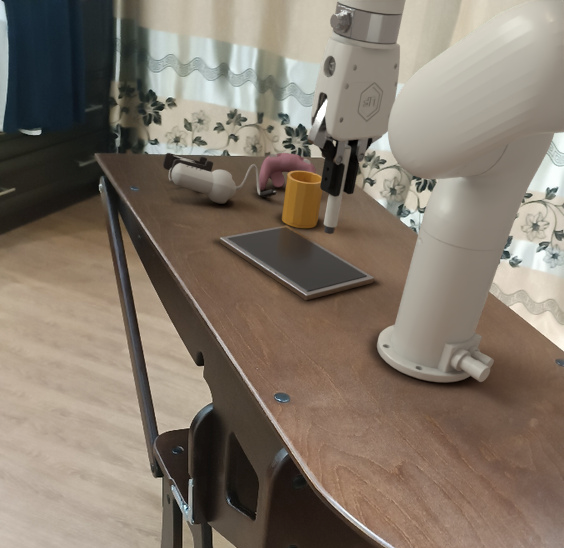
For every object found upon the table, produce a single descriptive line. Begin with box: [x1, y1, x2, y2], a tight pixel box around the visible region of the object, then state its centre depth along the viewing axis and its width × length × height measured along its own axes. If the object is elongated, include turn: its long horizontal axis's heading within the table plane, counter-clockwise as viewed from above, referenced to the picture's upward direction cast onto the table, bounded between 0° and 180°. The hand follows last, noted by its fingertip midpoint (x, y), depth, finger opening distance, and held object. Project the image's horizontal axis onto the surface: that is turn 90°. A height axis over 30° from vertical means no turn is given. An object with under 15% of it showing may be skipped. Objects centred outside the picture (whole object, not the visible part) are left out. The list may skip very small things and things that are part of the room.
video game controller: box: [258, 152, 317, 192], centre depth 125 cm, size 10×5×7 cm, turn 84°
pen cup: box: [281, 171, 324, 229], centre depth 114 cm, size 6×6×7 cm
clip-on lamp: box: [162, 152, 278, 205], centre depth 119 cm, size 12×6×18 cm
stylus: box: [323, 144, 351, 235], centre depth 93 cm, size 2×2×11 cm
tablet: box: [219, 224, 375, 301], centre depth 104 cm, size 20×13×1 cm, turn 39°
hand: (336, 190), depth 93 cm, fingers closed on stylus, 1 cm apart
